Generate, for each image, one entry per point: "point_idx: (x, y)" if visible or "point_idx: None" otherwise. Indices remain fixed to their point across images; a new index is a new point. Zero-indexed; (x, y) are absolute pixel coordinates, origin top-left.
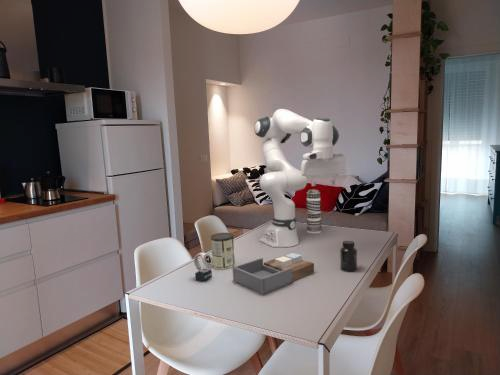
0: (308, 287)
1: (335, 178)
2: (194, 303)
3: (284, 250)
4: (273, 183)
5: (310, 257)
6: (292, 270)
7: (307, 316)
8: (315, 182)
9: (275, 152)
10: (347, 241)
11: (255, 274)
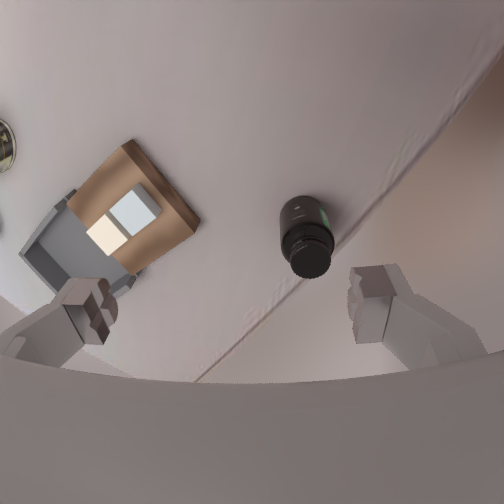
0: (175, 292)
1: (410, 360)
2: (19, 299)
3: (138, 15)
4: None
5: (214, 94)
6: (135, 267)
7: (168, 364)
8: (102, 342)
9: None
10: (310, 256)
11: (63, 225)
